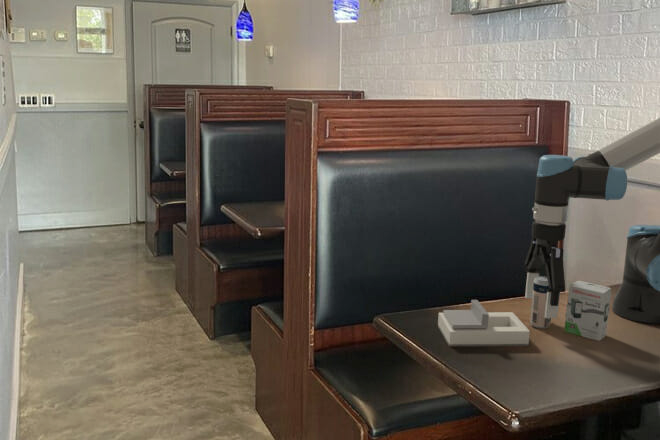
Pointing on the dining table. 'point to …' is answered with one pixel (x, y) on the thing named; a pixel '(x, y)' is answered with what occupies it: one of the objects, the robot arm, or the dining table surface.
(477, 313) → the shutter
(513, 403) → the dining table surface
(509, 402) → the dining table surface
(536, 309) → the beer can
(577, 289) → the ink box
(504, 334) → the socket plate
